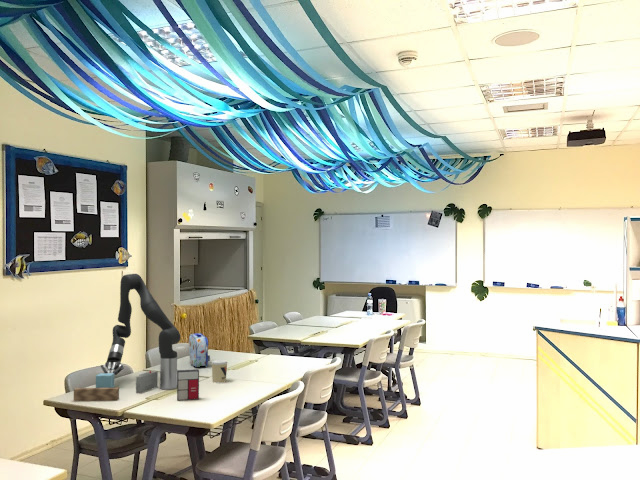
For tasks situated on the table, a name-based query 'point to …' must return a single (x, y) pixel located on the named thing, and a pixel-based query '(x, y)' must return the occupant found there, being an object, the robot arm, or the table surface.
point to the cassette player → (146, 381)
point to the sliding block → (105, 380)
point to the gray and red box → (187, 384)
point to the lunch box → (198, 350)
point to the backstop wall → (96, 394)
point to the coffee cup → (219, 370)
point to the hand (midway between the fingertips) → (108, 380)
